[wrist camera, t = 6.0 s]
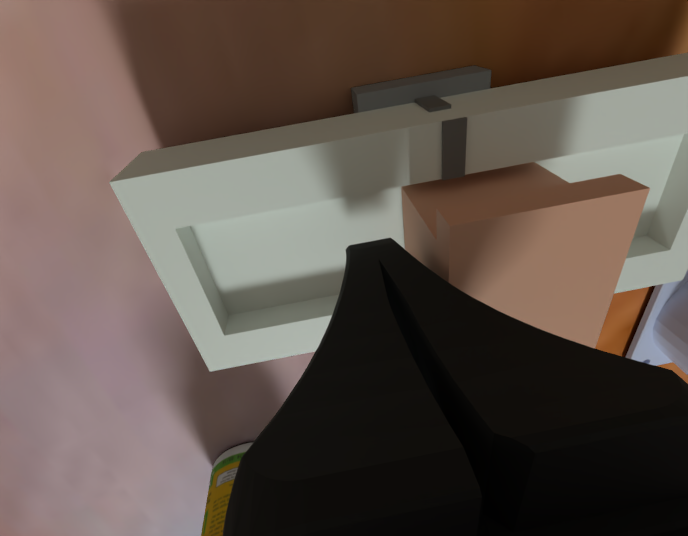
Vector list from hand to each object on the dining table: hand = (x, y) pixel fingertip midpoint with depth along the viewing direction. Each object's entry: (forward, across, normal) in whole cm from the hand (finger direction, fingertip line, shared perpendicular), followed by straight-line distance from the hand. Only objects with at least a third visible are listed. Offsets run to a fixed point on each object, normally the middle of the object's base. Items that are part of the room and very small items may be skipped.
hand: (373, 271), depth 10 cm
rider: (+2, -3, 0) cm, 4 cm away
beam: (+4, -2, 0) cm, 5 cm away
